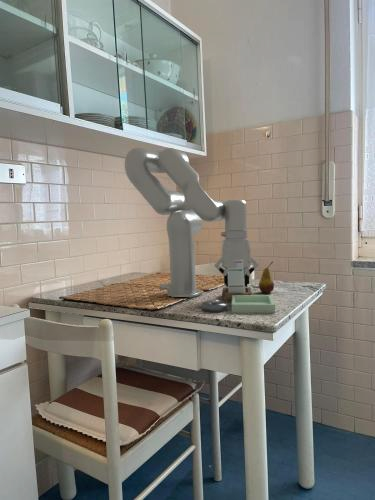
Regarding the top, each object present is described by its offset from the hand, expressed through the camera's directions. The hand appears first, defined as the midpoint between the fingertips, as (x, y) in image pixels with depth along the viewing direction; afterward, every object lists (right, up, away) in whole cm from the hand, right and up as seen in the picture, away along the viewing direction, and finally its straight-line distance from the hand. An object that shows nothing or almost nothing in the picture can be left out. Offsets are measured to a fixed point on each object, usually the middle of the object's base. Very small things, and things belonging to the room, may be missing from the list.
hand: (236, 285), depth 134 cm
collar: (0, -5, 0) cm, 5 cm away
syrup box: (0, -5, +1) cm, 5 cm away
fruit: (+12, -4, +9) cm, 16 cm away
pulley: (-9, -6, -13) cm, 17 cm away
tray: (+4, -6, -12) cm, 14 cm away
